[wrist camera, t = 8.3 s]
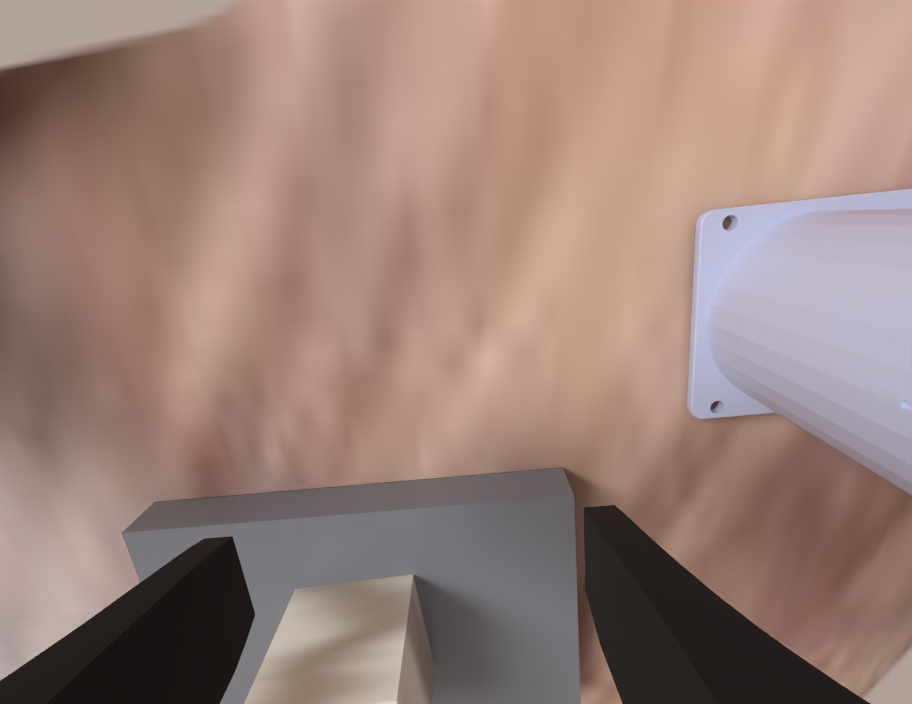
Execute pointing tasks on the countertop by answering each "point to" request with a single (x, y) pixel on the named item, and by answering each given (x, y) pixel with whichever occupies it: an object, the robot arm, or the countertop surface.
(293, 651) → the cream cube
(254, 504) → the slate board
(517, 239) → the countertop surface
